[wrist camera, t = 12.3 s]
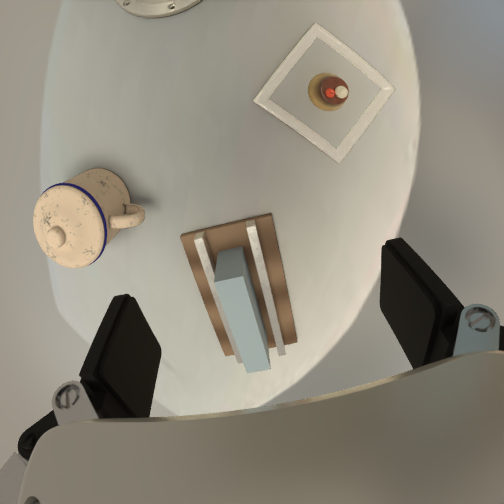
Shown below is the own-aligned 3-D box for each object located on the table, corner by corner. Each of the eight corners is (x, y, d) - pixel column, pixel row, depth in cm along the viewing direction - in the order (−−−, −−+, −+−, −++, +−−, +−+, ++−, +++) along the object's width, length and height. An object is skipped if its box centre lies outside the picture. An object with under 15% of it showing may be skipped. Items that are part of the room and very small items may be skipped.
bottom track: (181, 234, 37) (177, 243, 34) (270, 213, 36) (273, 221, 33) (225, 352, 45) (224, 365, 43) (296, 338, 45) (299, 351, 42)
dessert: (251, 101, 31) (253, 100, 26) (312, 24, 27) (323, 13, 22) (336, 162, 34) (350, 170, 30) (391, 89, 30) (411, 87, 26)
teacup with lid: (75, 234, 36) (29, 279, 25) (67, 167, 32) (11, 194, 21) (157, 237, 37) (129, 288, 26) (155, 164, 33) (118, 190, 22)
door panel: (218, 251, 37) (213, 282, 31) (242, 246, 37) (243, 276, 30) (245, 337, 43) (247, 373, 37) (266, 333, 43) (270, 368, 36)
